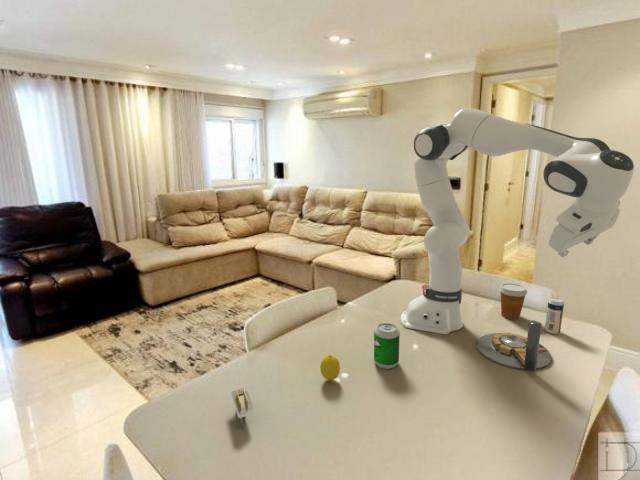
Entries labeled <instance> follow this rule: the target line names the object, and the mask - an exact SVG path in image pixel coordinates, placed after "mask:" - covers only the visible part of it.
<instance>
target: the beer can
mask: <svg viewBox="0 0 640 480" xmlns="http://www.w3.org/2000/svg"><path fill="white" fill-rule="evenodd" d="M564 306H565V301H564V300H563V299H561V298H558V297H550V298H549V300H547V308H546V315H545V323H544V331H546V332H547V333H549V334H551V335H558V334H560V333H561V329H562V328H561V327H562V321H563V314H564Z"/></svg>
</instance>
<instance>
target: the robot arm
mask: <svg viewBox="0 0 640 480" xmlns="http://www.w3.org/2000/svg"><path fill="white" fill-rule="evenodd" d="M413 139H414V140H413V150H414V152H415V154H416V156H417V157H416V158H415V160H414V162H413V171H414V177H415V181H416V186H417V187H416V188H417V190H418V193H419V197H420V201H421V205H422V208H423V210H424V212H426V213H427V215H428V217H429V218H430V220H431V221H432V224H433V225H432V226H431V227H430V228H429V229H428V230H427V232H426V233H425V234H424V238H423V244H424V248H425V249H426V250H427V256H428V262H429V280H428V281H429V284H427V283H425V282H423V284H421V289H422V294H421V295H419V296H418V297H416V298H414V299H413V300H410V302H409V304H408V306H407V309H406V310H405V311H403V312H401V315H400V323H401V325H402V326H403V327H404V328H406V329H413V330H417V331H418V330H419V331H424V332H430V333H436V334H442V335H448V334H450V333H451V332H455V331H458V330H459V331H460V329H462V328H463V326H464V323H463V319H462V314H461V303H462V299H463V298H462V297H463V289H462V275H463V268H462V265H461V260H460V248H461V246H463V245H464V244H465V243H466V242H467V240H468V238H469V237H470V232H471V230H470V226H469V224H468V223H467V222H466V220H465V218H464V216H463V214H462V211H461V210H460V208H459V205H458V203H457V201H456V198H455V194H454V191H453V188H452V184H451V180H450V176H449V173H448V169H447V163H448V161H453V160H455V159H456V158H457V157H458V156H460V155H462V154H463V153H464V152H466V150H467V149H468V148H470V149H473V150H475V151H476V152H478V153H480V154H482V155H487V156H489V157H500V156H504V155H507V154H512V153H514V152H518V151H527V150H533V151H539V152H541V153H544V154H548V155H550V156H553V157H555V158H554V159H552V160H551V161H550V162H548V163H547V164H546V165H545V166H544V169H543V172H542V173H543V180H544V182H545V184H546V186H547V187H548V188H549V189H550V190H552V191H554V192H556V193H559V194H561V195H565V196H568V197H572V198H576V199H575V201H573V202H572V203H571V205H570V206H569V207H567V208H566V209H565V210H563V211H562V212H561V213H559V214H558V215H557V217H556V219H555V221H556V222H557V224H555V225H554V227H553V229H552V232H551V234H550V236H549V240H548V245H549V247H550V248H551V249H552V250H554V251H556V252H557V254H558V255H559V257H561V258H564V257H566V256H568V254H569V249H571V248H573V247H575V246H577V245H579V244H581V243H584V244H586V245H587V246H588V245H592V244H593V243H594V241H595V239H597V238H598V236H599V235H600V234H603V233H605V232H606V231H609V230H610V229H612V228H613V227H614V226H615V225H616V222H617V221H618V219H619V216H620V212H621V210H620V208H619V207H620V205H621V202H620V200H621V198H622V197H624V195H625V194H626V192H627V190H628V188H629V185H630V184H631V180H632V179H633V175H634V171H635V164H634V161H633V160H632V158H631V157H630V156H629V155H627V154H626V153H624V152H621V151H618V150H613V149H612V150H611V149H610V146H609V145H608V144H607V143H605V141H602V140H601V139H599V138H595V137H593V138H592V137H575V136H573V135H569V134H565V133H562V132H560V131H556V130H552V129H549V128H545V127H542V126H539V125H535V124H529V123H523V122H518V121H514V120H511V119H507V118H505V117H504V118H503V117H501V116H498V115H496V114H494V113H490V112H488V111H485V110H482V109H481V110H480V109H478V108H473V107H464V108H462V109H459V110H458V111H457V112H456V113H455V114H454V115H453V116H452V119H451V121H450V123H441V124H438V125H433V126H428V127H425V128H423V129H422V130H420V131H419V132H418V133H416V135H415V137H414V138H413Z"/></svg>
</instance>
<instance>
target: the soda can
mask: <svg viewBox="0 0 640 480" xmlns="http://www.w3.org/2000/svg"><path fill="white" fill-rule="evenodd" d="M400 332H401V331H400V329H399V328H398V327H397V325H395V324H392V323H389V322H384V323H380V324H378V325H377V326H376V327H375V328H374V331H373V361H374V363H375V364H376V365H377V366H378V367H379V368H382V369H385V370H389V369H393V368H395V367H396V366H398V364H399V361H400V339H401V338H400V337H401V336H400V334H401V333H400Z"/></svg>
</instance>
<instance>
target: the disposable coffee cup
mask: <svg viewBox="0 0 640 480" xmlns="http://www.w3.org/2000/svg"><path fill="white" fill-rule="evenodd" d="M498 289H499V293H500V309H501V310H500V312H501V316H502V317H503V318H505V319H507V320H519V319H520V317H521V314H522V313H521V312H522V310H523V306H524V301H525V298H526V295H527V294H528V291H527V288H526V287H525V286H524V285H522V284H519V283H512V282H511V283H510V282H508V283H507V282H506V283H502V284H501V285H500V287H498Z"/></svg>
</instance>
